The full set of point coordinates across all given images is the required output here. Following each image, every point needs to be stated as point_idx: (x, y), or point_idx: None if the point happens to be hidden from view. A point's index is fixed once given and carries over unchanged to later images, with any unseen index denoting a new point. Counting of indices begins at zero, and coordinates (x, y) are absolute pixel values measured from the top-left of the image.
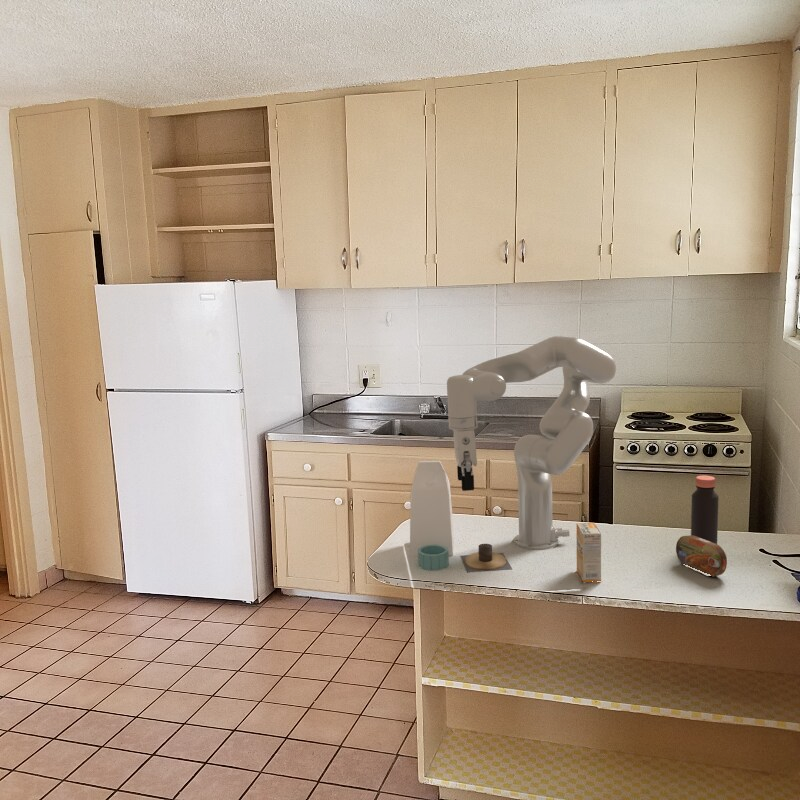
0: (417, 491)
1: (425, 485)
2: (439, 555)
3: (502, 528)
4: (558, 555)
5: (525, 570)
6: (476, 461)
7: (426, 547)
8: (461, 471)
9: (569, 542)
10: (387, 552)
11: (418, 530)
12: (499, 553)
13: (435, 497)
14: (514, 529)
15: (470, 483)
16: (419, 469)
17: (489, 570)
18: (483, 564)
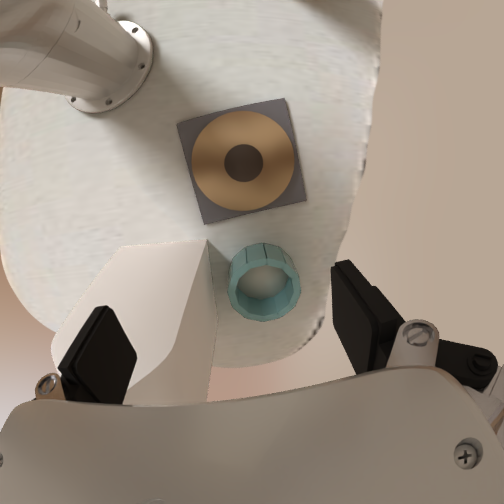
0: None
1: None
2: (296, 273)
3: (33, 156)
4: (181, 12)
5: (277, 71)
6: (473, 401)
7: (243, 307)
8: (113, 380)
9: None
10: None
11: (209, 343)
12: (181, 131)
13: (186, 375)
14: (36, 130)
15: (386, 302)
16: None
17: (295, 150)
18: (277, 164)
